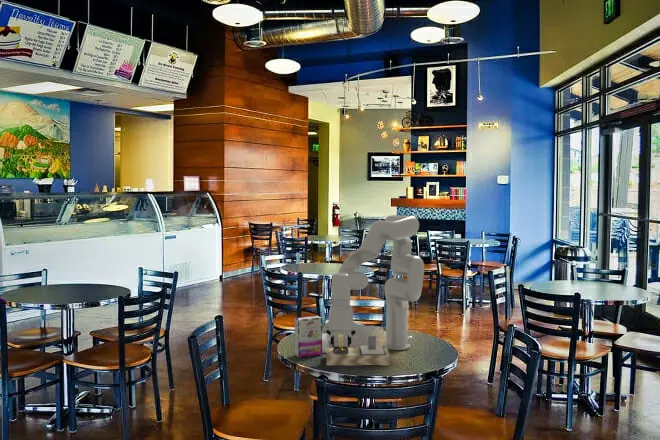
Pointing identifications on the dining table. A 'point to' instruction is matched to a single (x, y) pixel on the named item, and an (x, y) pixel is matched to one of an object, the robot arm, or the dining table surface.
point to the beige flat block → (355, 357)
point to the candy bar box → (308, 336)
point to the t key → (340, 342)
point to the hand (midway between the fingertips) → (340, 345)
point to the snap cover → (372, 347)
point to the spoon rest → (325, 342)
